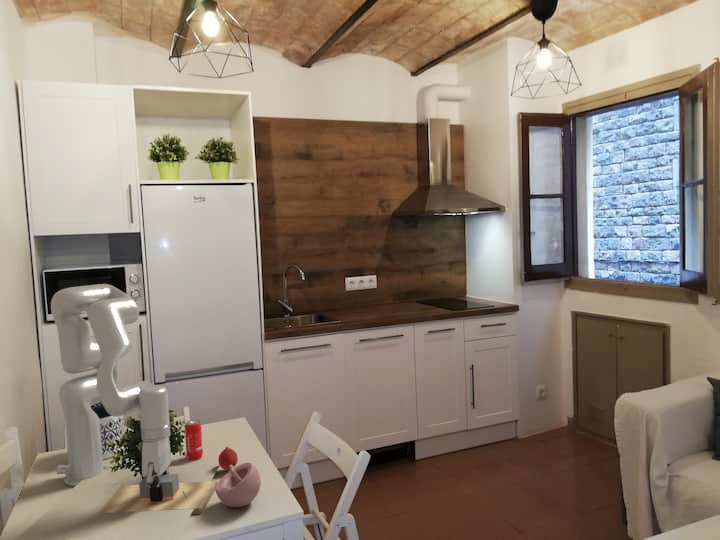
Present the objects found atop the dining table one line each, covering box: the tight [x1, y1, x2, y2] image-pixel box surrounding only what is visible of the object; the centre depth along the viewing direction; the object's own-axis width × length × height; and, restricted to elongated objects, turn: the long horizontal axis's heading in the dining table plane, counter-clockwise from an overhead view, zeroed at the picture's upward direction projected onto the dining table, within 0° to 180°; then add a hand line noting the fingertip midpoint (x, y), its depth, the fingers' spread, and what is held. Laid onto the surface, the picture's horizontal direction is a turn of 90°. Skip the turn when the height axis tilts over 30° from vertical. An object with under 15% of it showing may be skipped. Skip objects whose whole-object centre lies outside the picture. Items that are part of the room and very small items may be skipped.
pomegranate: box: [217, 446, 239, 472], centre depth 171 cm, size 6×6×8 cm
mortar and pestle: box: [215, 461, 261, 508], centre depth 149 cm, size 12×12×11 cm
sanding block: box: [138, 473, 180, 501], centre depth 153 cm, size 9×5×5 cm, turn 91°
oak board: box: [95, 480, 218, 515], centre depth 153 cm, size 28×16×2 cm, turn 90°
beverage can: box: [184, 419, 204, 461], centre depth 182 cm, size 5×5×12 cm
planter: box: [91, 405, 125, 461], centre depth 190 cm, size 16×16×14 cm
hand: (160, 494), depth 153 cm, fingers closed on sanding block, 5 cm apart
